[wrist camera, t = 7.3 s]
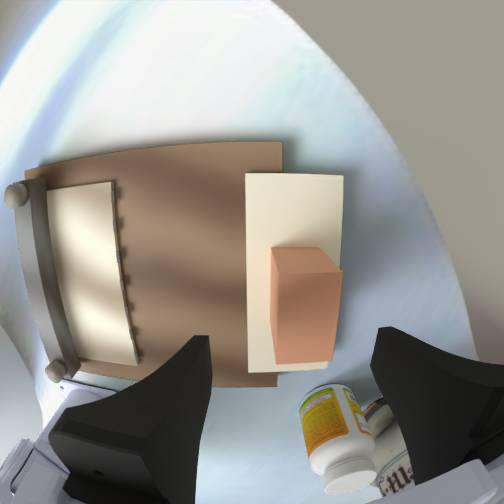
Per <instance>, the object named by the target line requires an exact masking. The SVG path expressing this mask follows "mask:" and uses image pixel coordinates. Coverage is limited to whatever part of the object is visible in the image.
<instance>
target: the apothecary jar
mask: <svg viewBox="0 0 504 504" xmlns="http://www.w3.org/2000/svg"><path fill="white" fill-rule="evenodd" d="M363 416H364V418H365V421H366V423H367V425H368V428H369V430H370V432H371V434H372V437H373V439H374V442H375V452H374V455H373V457H372V458H371V460H372V462H373V463H374V466H375V469H376V472H377V476H376V478H375V479H374V480H373V481H372V482H371V483H370V484H369V485H371V486H374V487H378V488H379V490H380V492H381V494H382V497H385V496H388V495H391V494H394V493H397V492H400V491H403V490H406V489H409V488H411V487H414V486H415V483H414V476H413V471H412V467H411V463H410V458H409V455H408V451H407V448H406V444H405V441H404V438H403V435H402V433H401V430H400V427H399V425H398V423H397V420H396V418H395V416H394V414H393V413H392V411H391V409H390V407H389V405H388V403H387V402H386V400H385V398H383V399H381V400H379V401H375V402H374V403H373V404H371V405H370V406H369V407H368V408H367V410H366V411H365V412H364V413H363Z"/></svg>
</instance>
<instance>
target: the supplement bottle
mask: <svg viewBox="0 0 504 504" xmlns="http://www.w3.org/2000/svg"><path fill="white" fill-rule="evenodd" d="M299 413H300V419H301V423H302V428H303V433H304V438H305V443H306V448H307V453H308V458H309V463H310V466H311V468H312V470H313V471H314V472H316V473H317V474H319V475H322V483H323V486H324V490H325V492H326V493H327V494H331V495H342V494H347V493H351V492H354V491H357V490H359V489H361V488H363V487H365V486H367V485H368V484H370V483H371V482H372V481H373V480H374V479H375V478H376V476H377V472H376V469H375V466H374V463H373V462H372V460H371V458H372V457H373V455H374V452H375V442H374V439H373V437H372V434H371V432H370V430H369V428H368V425H367V423H366V421H365V418H364V416H363V414H362V411H361V409H360V407H359V405H358V402H357V400H356V398H355V396H354V394H353V392H352V391H351V389H349V388H348V387H346V386H344V385H341V384H329V385H325V386H321V387H319V388H316V389H314V390H313V391H311V392H310V393H308V394H307V395H306V396H305V397H304V398H303V400H302V401H301V404H300V407H299Z"/></svg>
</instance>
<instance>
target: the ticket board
mask: <svg viewBox="0 0 504 504" xmlns="http://www.w3.org/2000/svg"><path fill="white" fill-rule="evenodd" d="M245 173H282V142H215V143H196V144H182V145H170V146H160V147H150V148H142V149H134V150H126V151H119V152H112V153H106V154H100V155H94V156H88V157H83V158H78V159H73V160H68V161H63V162H59V163H54V164H50V165H46V166H41V167H37V168H33V169H30V170H26V171H25V180H23V181H19V182H15V183H13V185H9V186H8V187H7V188H6V190H5V194H4V200H5V204H6V206H7V207H8V208H10V209H11V208H14V211H15V222H16V231H17V239H18V246H19V252H20V258H21V264H22V269H23V274H24V279H25V283H26V288H27V292H28V296H29V300H30V304H31V307H32V311H33V314H34V318H35V321H36V324H37V328H38V331H39V334H40V337H41V340H42V342H43V345H44V348H45V351H46V354H47V356H48V359H49V361H50V364H49V365H48V366H47V367H46V368H45V372H46V374H47V376H48V377H49V379H50V380H52V381H53V382H55V383H59V382H60V381H61V380H62V378H63V377H66V378H70V379H72V378H73V376H74V375H75V374H76V373H77V371H82V372H87V373H92V374H98V375H103V376H109V377H115V378H121V379H128V380H135V381H141V380H142V379H144V378H145V377H147V376H148V375H150V374H151V373H153V372H154V371H156V370H157V369H158V368H159V367H160V366H162V365H163V364H164V363H165V362H167V361H168V360H169V359H170V358H171V357H172V356H173V355H174V354H175V353H176V352H177V351H178V350H180V349H181V348H182V347H183V346H184V345H185V344H186V343H187V341H188V340H189V339H191V338H192V337H193V336H194V335H209V340H210V351H211V361H212V371H213V378H212V387H277V376H278V372H252V373H248V330H247V270H246V194H245Z"/></svg>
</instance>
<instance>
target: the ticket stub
mask: <svg viewBox="0 0 504 504" xmlns="http://www.w3.org/2000/svg"><path fill="white" fill-rule="evenodd" d="M245 194H246V270H247V330H248V373H252V372H285V371H303V370H316V369H327V366H328V361H332V358H333V351H334V345H335V338H336V331H337V324H338V316H339V308H340V299H341V290H342V280H343V271H342V270H341V269H340V268H339V267H340V253H341V237H342V216H343V176H341V175H321V174H287V173H245Z"/></svg>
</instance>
